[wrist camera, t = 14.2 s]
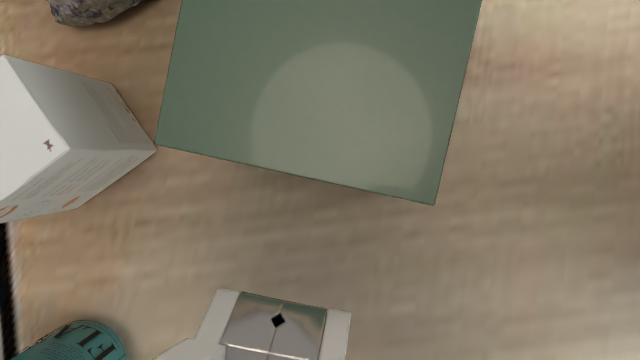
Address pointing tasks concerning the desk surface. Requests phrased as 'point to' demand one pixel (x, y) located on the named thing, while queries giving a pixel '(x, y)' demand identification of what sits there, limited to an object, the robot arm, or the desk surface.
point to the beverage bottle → (77, 344)
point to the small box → (61, 139)
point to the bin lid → (321, 88)
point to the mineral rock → (88, 10)
